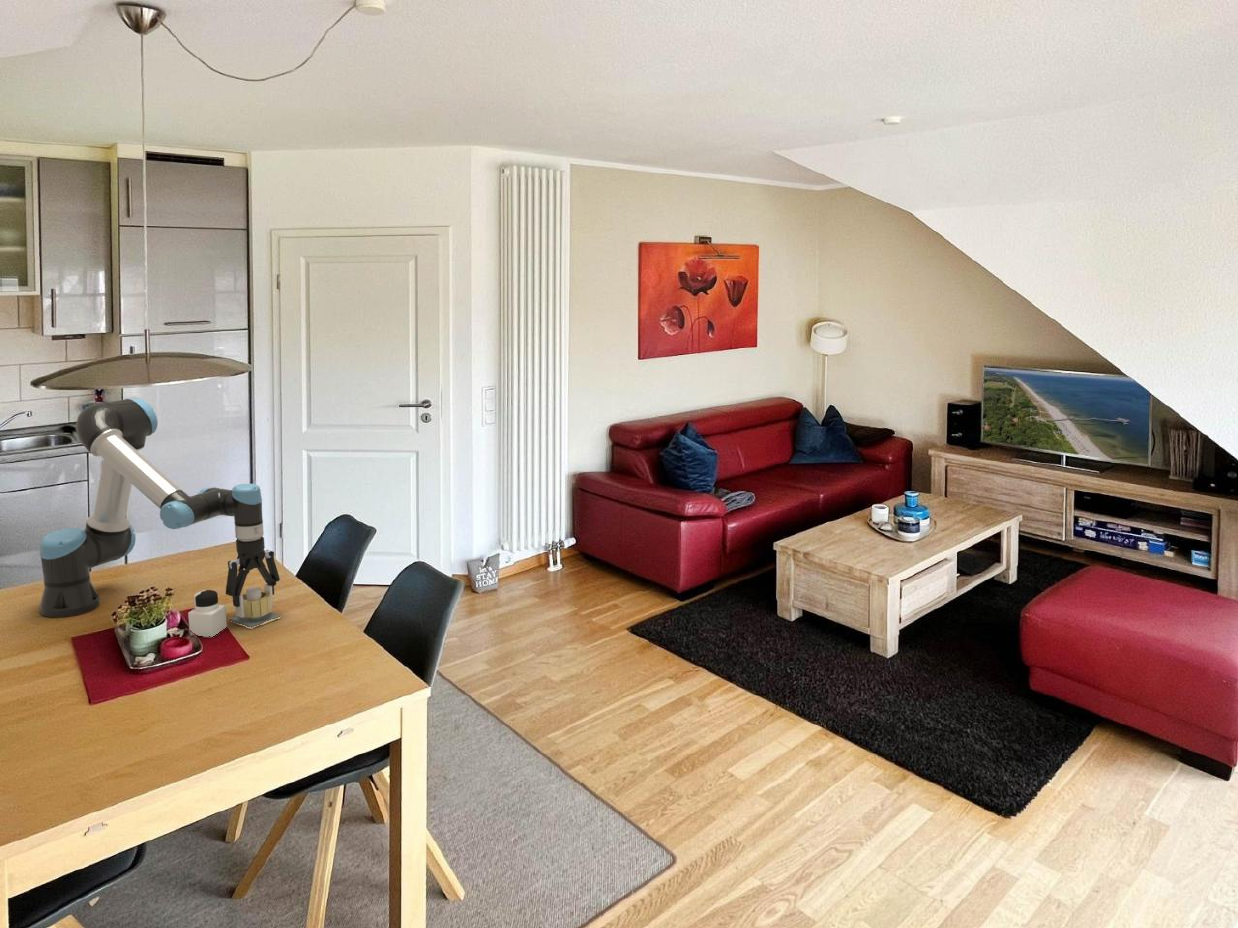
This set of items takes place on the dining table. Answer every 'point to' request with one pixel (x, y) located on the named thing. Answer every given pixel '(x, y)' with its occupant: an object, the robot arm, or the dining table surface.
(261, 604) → the ring
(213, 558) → the dining table surface
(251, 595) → the post stand
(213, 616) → the medicine bottle
